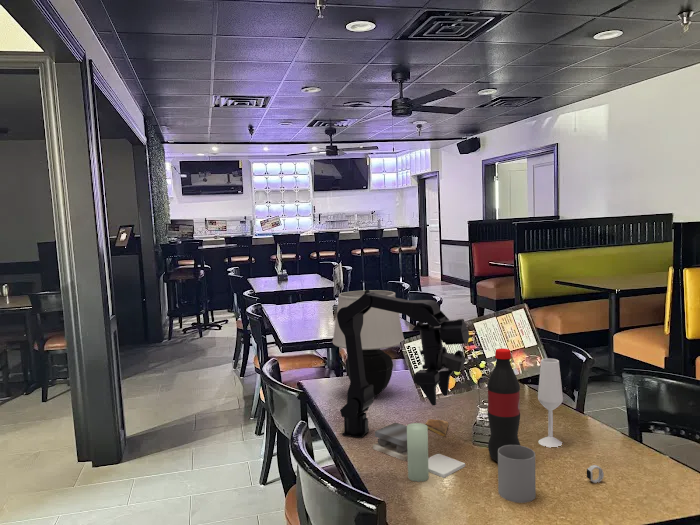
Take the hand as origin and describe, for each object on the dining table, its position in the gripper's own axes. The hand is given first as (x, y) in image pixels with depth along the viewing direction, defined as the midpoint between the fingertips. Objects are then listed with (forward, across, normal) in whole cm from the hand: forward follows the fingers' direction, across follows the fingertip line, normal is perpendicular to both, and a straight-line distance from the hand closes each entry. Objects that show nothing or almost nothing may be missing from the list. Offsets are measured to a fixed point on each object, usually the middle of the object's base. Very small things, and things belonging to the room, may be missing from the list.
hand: (439, 400), depth 151 cm
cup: (+17, -16, -23) cm, 33 cm away
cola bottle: (+16, +1, -16) cm, 23 cm away
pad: (+14, -10, -2) cm, 18 cm away
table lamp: (+9, +35, +42) cm, 55 cm away
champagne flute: (+18, +18, -25) cm, 35 cm away
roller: (+14, -18, +1) cm, 23 cm away
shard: (+14, +15, +7) cm, 22 cm away
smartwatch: (+19, -2, -38) cm, 43 cm away
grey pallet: (+13, -5, +12) cm, 18 cm away
